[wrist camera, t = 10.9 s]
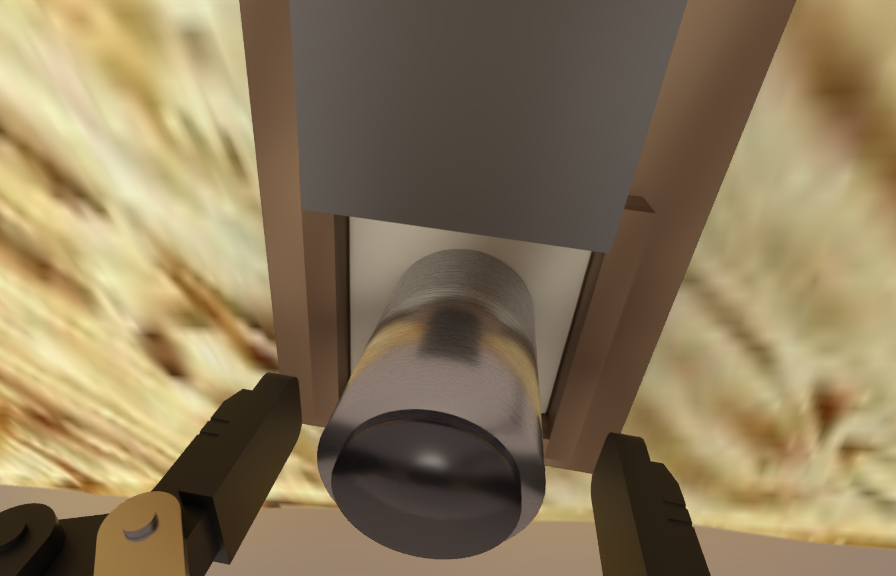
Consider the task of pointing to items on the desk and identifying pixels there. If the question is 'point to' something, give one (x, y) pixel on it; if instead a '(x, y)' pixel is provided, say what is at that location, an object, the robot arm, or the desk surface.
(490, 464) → the lens
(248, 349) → the desk surface
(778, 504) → the desk surface
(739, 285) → the desk surface
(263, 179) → the dock
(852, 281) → the desk surface
